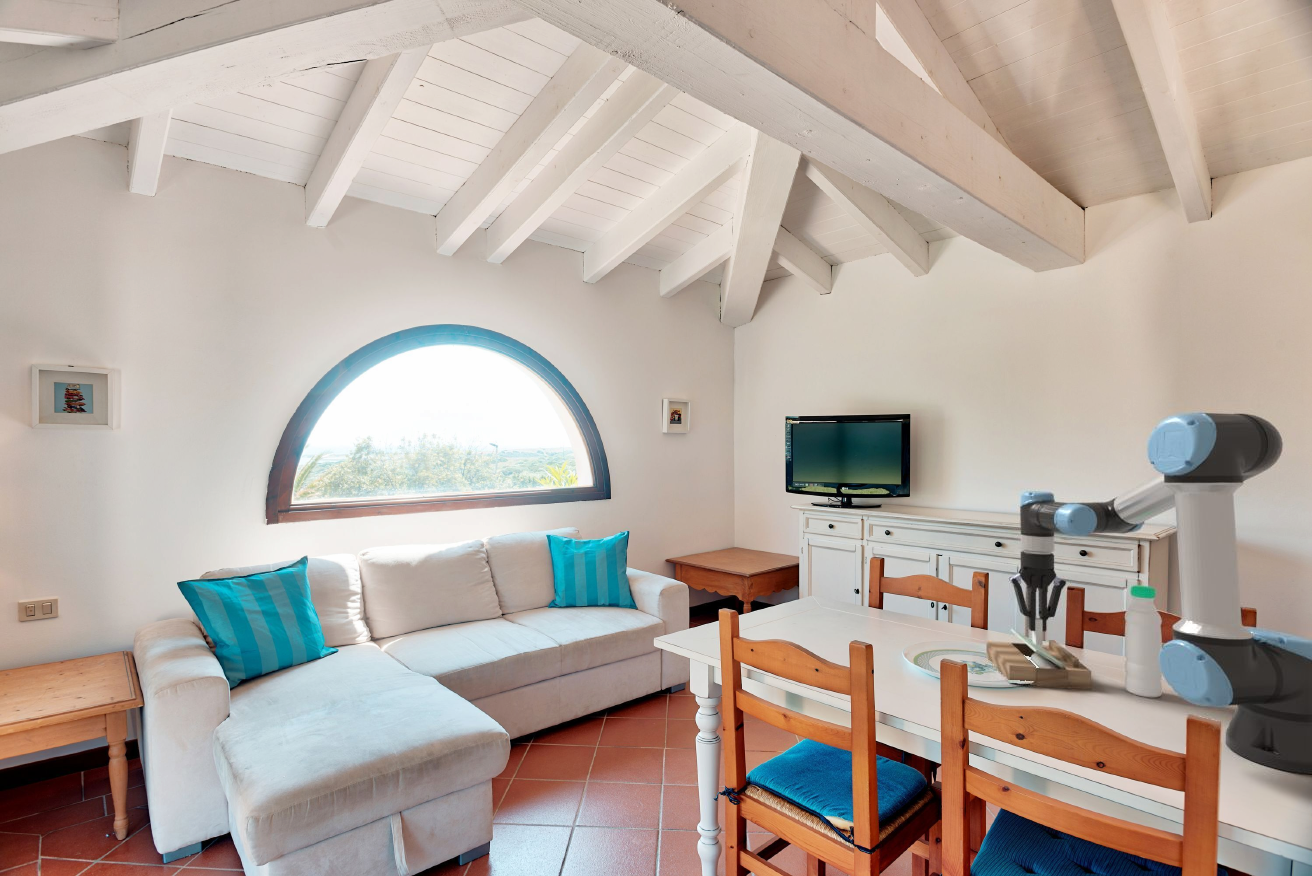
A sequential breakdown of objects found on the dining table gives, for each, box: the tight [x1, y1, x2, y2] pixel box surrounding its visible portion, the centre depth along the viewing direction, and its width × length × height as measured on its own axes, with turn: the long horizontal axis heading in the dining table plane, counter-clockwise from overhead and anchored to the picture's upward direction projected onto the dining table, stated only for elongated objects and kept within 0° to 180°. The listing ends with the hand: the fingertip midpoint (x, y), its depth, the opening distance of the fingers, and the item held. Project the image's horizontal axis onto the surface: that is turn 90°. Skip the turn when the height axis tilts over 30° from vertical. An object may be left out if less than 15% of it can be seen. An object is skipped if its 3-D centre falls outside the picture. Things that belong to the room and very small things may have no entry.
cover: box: [1010, 628, 1065, 669], centre depth 171 cm, size 19×7×1 cm, turn 168°
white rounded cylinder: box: [1031, 653, 1057, 669], centre depth 170 cm, size 13×3×3 cm, turn 168°
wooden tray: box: [985, 639, 1092, 690], centre depth 171 cm, size 21×18×6 cm
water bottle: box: [1124, 585, 1163, 699], centre depth 157 cm, size 7×7×25 cm
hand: (1037, 643), depth 170 cm, fingers closed
